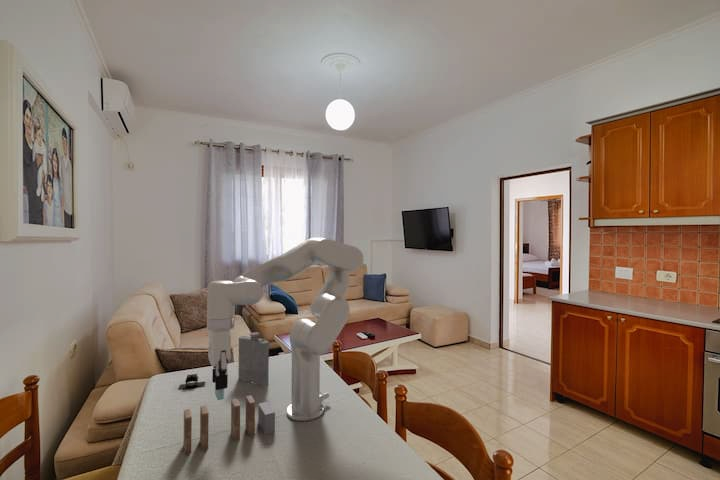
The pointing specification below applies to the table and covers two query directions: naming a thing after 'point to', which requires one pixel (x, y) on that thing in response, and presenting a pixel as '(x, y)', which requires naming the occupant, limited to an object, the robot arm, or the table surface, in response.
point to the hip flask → (254, 359)
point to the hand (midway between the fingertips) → (219, 384)
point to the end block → (266, 417)
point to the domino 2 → (204, 426)
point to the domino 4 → (235, 419)
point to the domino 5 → (250, 415)
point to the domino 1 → (187, 431)
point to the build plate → (191, 385)
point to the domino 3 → (220, 392)
